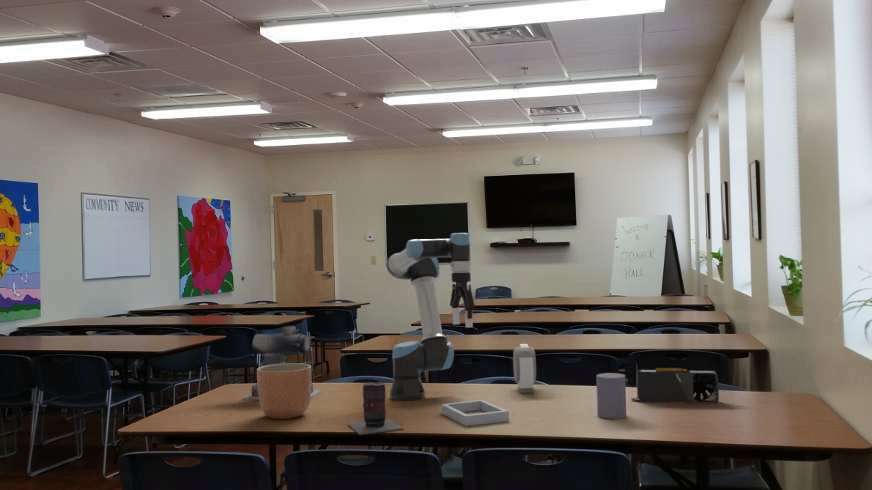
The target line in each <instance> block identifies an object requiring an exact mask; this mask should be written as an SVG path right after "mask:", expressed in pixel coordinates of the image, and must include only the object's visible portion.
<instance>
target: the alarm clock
mask: <svg viewBox="0 0 872 490" xmlns="http://www.w3.org/2000/svg"><path fill="white" fill-rule="evenodd" d="M512 355H513V357H512V364H513V367H512V368H513V377H514V382H515V383H516V384H517V387H518V388H519V389H518V391H519V390H520V391H519V392H520V393H522V394H523V393H525V394H526V393H533V389H534V386H535V382H536V381H537V360H536V351H535V348H534V346H529V345H528V343H520V344H519V346H515V347H513V353H512Z"/></svg>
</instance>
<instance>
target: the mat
mask: <svg viewBox="0 0 872 490" xmlns="http://www.w3.org/2000/svg"><path fill="white" fill-rule="evenodd" d="M347 426H348V427H349V428H350V429H352V431H354V432H356V433H357V434H358V435H359V436H363V435H371V434H377V433H378V434H379V433H380V434H381V433H387V432H394V431H403V430H404V427H403V426H401V425H400V424H398V423H396V422H395V421H394V420H392V419H391V418H385V421H384V426H381V427H373V428H371V427H366V422H365V421H360V422H351V423H347Z"/></svg>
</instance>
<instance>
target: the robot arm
mask: <svg viewBox="0 0 872 490" xmlns="http://www.w3.org/2000/svg"><path fill="white" fill-rule="evenodd" d="M470 243H471V241H470V234H469V233H468V232H458V233H457V232H454V233H451V234H450V238H449V237H448V238H433V239H432V238H431V239H428V238H427V239H425V238H424V239H418V238H415V239H409V240H408V241H407V242H406V245H405V248H404V249H403V250H402V251H400V252H396V253H393V254H392V255H390V256H389V257H388V259H387V261H386V265H385V266H386V271H387V272H388V273H389V275H390V276H392V277H393V278H396V279H399V280H410V284H411V285H412V286H413V287H414V288H415V293H416V300H417V307H418V311H419V312H418V313H419V319H420V325H421V331H422V339H421V340H420V342H419V341H418V340H415V341H414V340H413V341H412V340H411V341H405V342H401V343H398V344H395V345H394V346H393V347H392V355H391V356H392V357H391V358H392V377H393V380H392V384H391V387H390V391H389V399H391V400H394V401H417V400H421V399H423V398H425V397H426V391H425V388H424V385H423V383H422V380H421V373H422V372H431V371H432V372H433V371H443V370H447V369H449V368H451V366H452V364H453V363H454V357H455V356H454V355H455V350H454V349H455V348H454V344H453V343H452V342H451V341H448V339H447V336H445V335H444V334H443V330H442V324H441V318H440V311H439V305H438V300H437V295H436V287H435V283H436V282H437V278H438V277H440V263H439V261H438V258H450V262H451V263H450V264H449V266H450V268H451V272H452V273H451V282H452V284H451V285H452V286H451V294H450V302H449V306H450V307H451V308H452V311H451V312H452V325H460V324H461V320H460V318H461V317H460V315H461V314H460V308H461V307H460V302H461V299H462V301H463V305H464V317H465V328H473V327H474V326H473V324H474V322H473V319H474V317H473V310H475V308H476V306H475V301H474V297H473V293H472V286H471V284H468V283H470V282H471V281H472V278H471V276H472V275H471V272H470V271H471V244H470Z"/></svg>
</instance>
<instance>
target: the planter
mask: <svg viewBox="0 0 872 490" xmlns="http://www.w3.org/2000/svg"><path fill="white" fill-rule="evenodd" d="M311 381H312V365H311V364H308V363H297V362H296V363H293V362H292V363H291V362H290V363H288V362H287V363H286V362H285V364H274V365H267V366H259V367H258V368H256V382H257V383H256V384H258V395H259V400H258V402H259V405H260V409H261V411H262V413H263V414H264V415H265V416H267V418H270V419H275V420H289V419H294V418H298V417H301V416H302V415H304V414H305V413H306V411H307V410H308V409H309V406H310V402H311V399H310V396H311Z"/></svg>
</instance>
